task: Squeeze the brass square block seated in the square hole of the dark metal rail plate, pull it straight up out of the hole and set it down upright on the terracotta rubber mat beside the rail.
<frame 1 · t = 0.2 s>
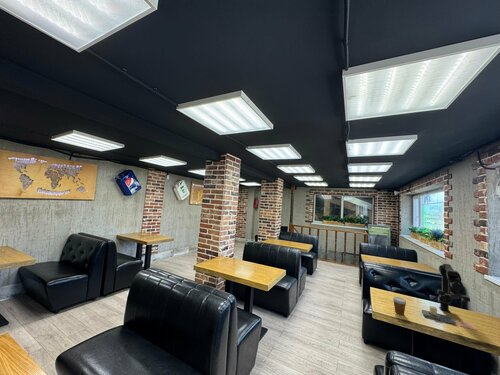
hand: (453, 305, 168), 14 cm above the table, fingers open, 9 cm apart
rail plate: (437, 318, 175), on the table
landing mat: (465, 325, 166), on the table
disposable coffee cup: (399, 313, 179), on the table
brass block: (433, 316, 177), resting in rail plate
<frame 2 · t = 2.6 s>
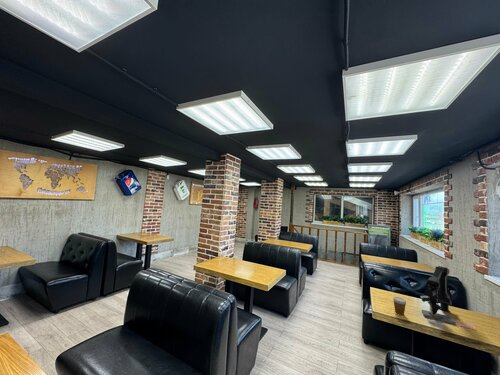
hand: (433, 313, 177), 3 cm above the table, fingers closed on brass block, 4 cm apart
brass block: (433, 316, 177), resting in rail plate, touching gripper
everything else where it was.
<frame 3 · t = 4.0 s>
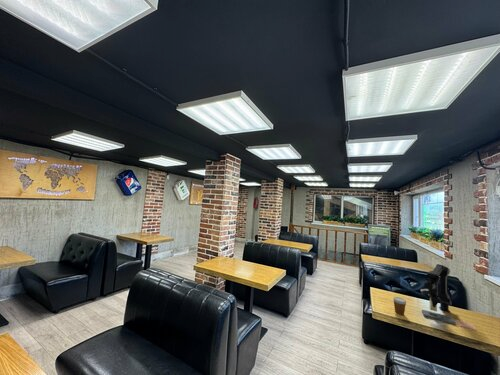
hand: (433, 306, 177), 9 cm above the table, fingers closed on brass block, 4 cm apart
brass block: (433, 309, 177), point 6 cm above the table, touching gripper
everything else where it was.
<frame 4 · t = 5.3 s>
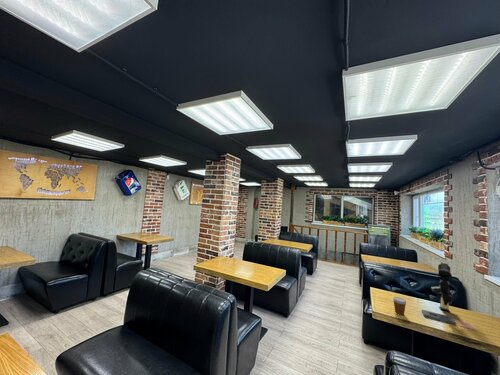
hand: (444, 304, 174), 13 cm above the table, fingers closed on brass block, 4 cm apart
brass block: (444, 307, 174), point 10 cm above the table, touching gripper
everything else where it was.
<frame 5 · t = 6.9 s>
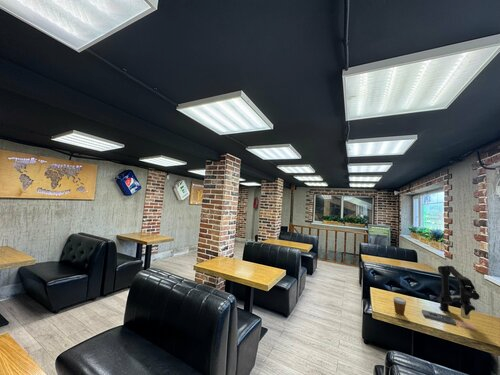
hand: (465, 313, 167), 9 cm above the table, fingers closed on brass block, 4 cm apart
brass block: (465, 317, 167), point 6 cm above the table, touching gripper
everything else where it was.
when the fingers open (4 cm above the table, at t = 8.4 s): brass block drops 1 cm, resting on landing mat.
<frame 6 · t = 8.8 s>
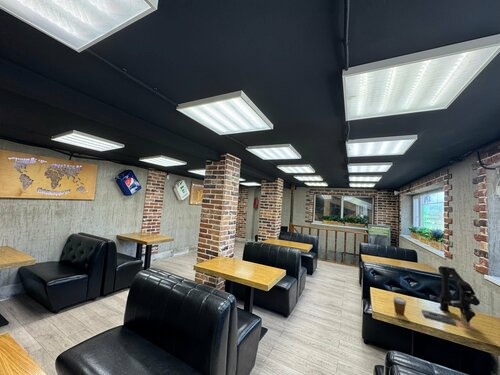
hand: (465, 319, 167), 4 cm above the table, fingers open, 9 cm apart
brass block: (465, 324, 167), resting on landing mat
everything else where it was.
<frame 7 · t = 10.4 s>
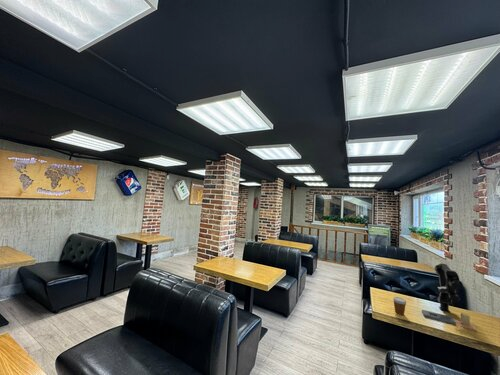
hand: (451, 303, 178), 12 cm above the table, fingers open, 9 cm apart
nothing on the table moved.
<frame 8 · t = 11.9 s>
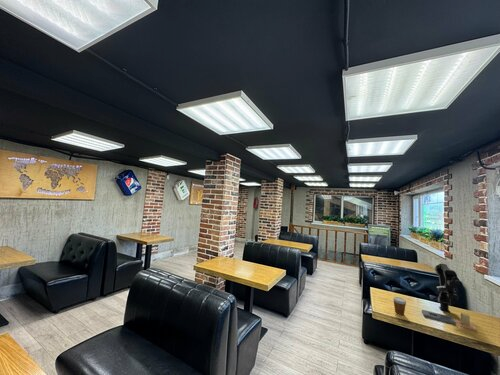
hand: (449, 302, 179), 12 cm above the table, fingers open, 9 cm apart
nothing on the table moved.
at the end: brass block inside the target area on the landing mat (0.1 cm from its centre), point 0.4 cm above the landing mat's base; brass block tilted 0°; brass block moved 20.0 cm from its start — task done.
